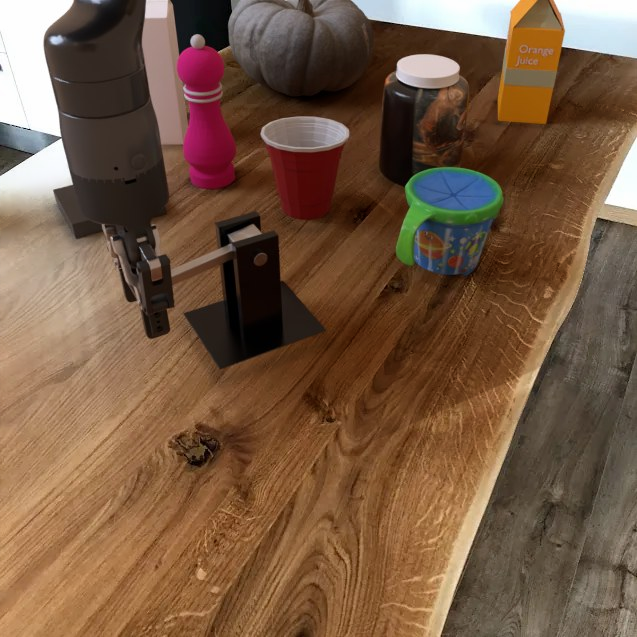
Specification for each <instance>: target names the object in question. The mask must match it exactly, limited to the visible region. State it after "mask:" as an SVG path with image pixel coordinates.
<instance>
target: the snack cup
mask: <svg viewBox="0 0 637 637" xmlns="http://www.w3.org/2000/svg"><path fill="white" fill-rule="evenodd" d="M404 192H405V198H406V202H407V205H408V207H409V209H408V211H407V212H406V214H405V216H404V219H403V222H402V225H401V228H400V232H399V235H398V239H397V242H396V245H395V253H396V254H395V255H396V257H397V258H398V260H399V261H400V262H401V263H403V264H404V265H406V266H409V267H413V266H414V265H415V263H416V264H418V265H419V266H420V267H421V268H422V269H424V270H425V271H429V272H431V273H436V274H439V275H447V276H448V275H449V276H450V275H451V276H452V275H463V276H464V277H466V276H468V275H470V274H471V273H472V272H473V271H474V270H475V269H476V268H477V266H478V264H479V262H480V260H481V255H482V252H483V250H484V248H485V245H486V242H487V238H488V236H489V233H490V230H491V227H492V224H493V222H494V220H496V219H497V218H498V214H499V213H500V212H499V211H500V209H501V208H502V206H503V204H504V201H505V200H504V196H503V190H502V188H501V185H500V184H499V183H498V181H495V180H494V179H493V178H492V177H490V176H489V175H486V174H484V173H482V172H479V171H476V170H474V169H469V168H465V167H460V168H456V167H440V168H433V169H428V170H424V171H422V172H419V173H417V174H416V175H414V176H413V177H412V178H411V179H410V180H409V182H408V183H407V184H406V186H404Z"/></svg>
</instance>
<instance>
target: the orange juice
mask: <svg viewBox="0 0 637 637" xmlns="http://www.w3.org/2000/svg"><path fill="white" fill-rule="evenodd" d="M509 13H510V18H509V24H508V31H507V36H506V43H505V48H504V54H503V61H502V69H501V74H500V81H499V87H498V94H497V121H498V122H509V123H523V124H537V125H538V124H539V125H540V124H541V125H547V121H548V116H549V111H550V106H551V101H552V96H553V92H554V88H555V83H556V78H557V75H558V74H557V73H558V67H559V62H560V57H561V53H562V48H563V43H564V37H565V33H566V29H565V25H564V21H563V18H562V13H561V12H560V11H559V9H558V6H557V4H556V2H555V0H518V2H517V3H516V4H515V5H514V7H513V8H512V9H511V10H510V12H509Z"/></svg>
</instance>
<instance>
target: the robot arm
mask: <svg viewBox="0 0 637 637" xmlns="http://www.w3.org/2000/svg"><path fill="white" fill-rule="evenodd" d="M145 10H146V0H73V1H72V4H71V5H70V7H69V8H68V10H67V11H66V12H64V13H63V14H62V15H61V16H60V17H59V18H57V19H56V20H55V21H54V22H53V23H52V24H50V26H49V27H47V29H46V30H45V32H44V35H43V43H42V44H43V45H42V46H43V52H44V58H45V63H46V66H47V70H48V75H49V79H50V84H51V88H52V91H53V95H54V101H55V104H56V107H57V113H58V120H59V122H58V124H59V132H60V138H61V142H62V147H63V151H64V154H65V158H66V162H67V167H68V171H69V174H70V179H71V182H72V185H73V187H74V191H75V195H76V199H77V203H78V207H79V210H80V212H81V213H82V214H83V215H84V216H85V217H86V218H87V219H89V220H91V221H93V222H96V223H99V224H102V229H103V231H104V232H103V234H104V238H105V240H106V249H107V251H109V254H110V256H111V258H113V264H114V266H115V267H116V269H117V270H118V272H119V277H120V281H121V286H122V290H123V295H124V298H125V300H126V302H128V303H135V302H136V303H137V306H138V307H139V310H140V315H141V320H142V325H143V330H144V334H145V335H146V337H147V338H148V339H150V340H154V339H157V338H159V337H162V336H165V335H167V334H169V333H170V332H171V326H170V320H169V314H168V310H170V309H173V308H175V303H176V302H175V298H174V288H173V287H174V286H173V285H172V277H171V269H172V268H171V263H172V262H171V259H170V257H168V254H167V253H164V254H163V253H162V249H161V247H160V246H161V243H162V239H161V235H160V232H159V229H158V226H157V225H156V224H154V223H153V224H151V222H152V220H153V219H155V218H156V217H155V216H156V215H157V214H158V213H159V212H161V211H162V210H163V209H164V207H165V206H167V205H168V202H169V199H170V190H169V184H168V178H167V171H166V164H165V159H164V158H165V157H164V152H163V147H162V146H163V145H161V139H160V132H159V126H158V121H157V117H156V114H155V111H154V108H153V104H152V101H151V96H150V91H149V84H148V78H147V72H146V65H145V58H144V53H143V48H142V34H143V27H144V20H145ZM154 217H155V218H154ZM131 269H136V270H137V273H136V274H132V272H131ZM124 276H125V278H124ZM127 283H128V284H130V285H131V286H134V290H135V293H136V297H137V299H136V297H135V296H134V294H133V292H132V290H131V289H130V287H129V285H128V284H127ZM137 300H138V301H137Z"/></svg>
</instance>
